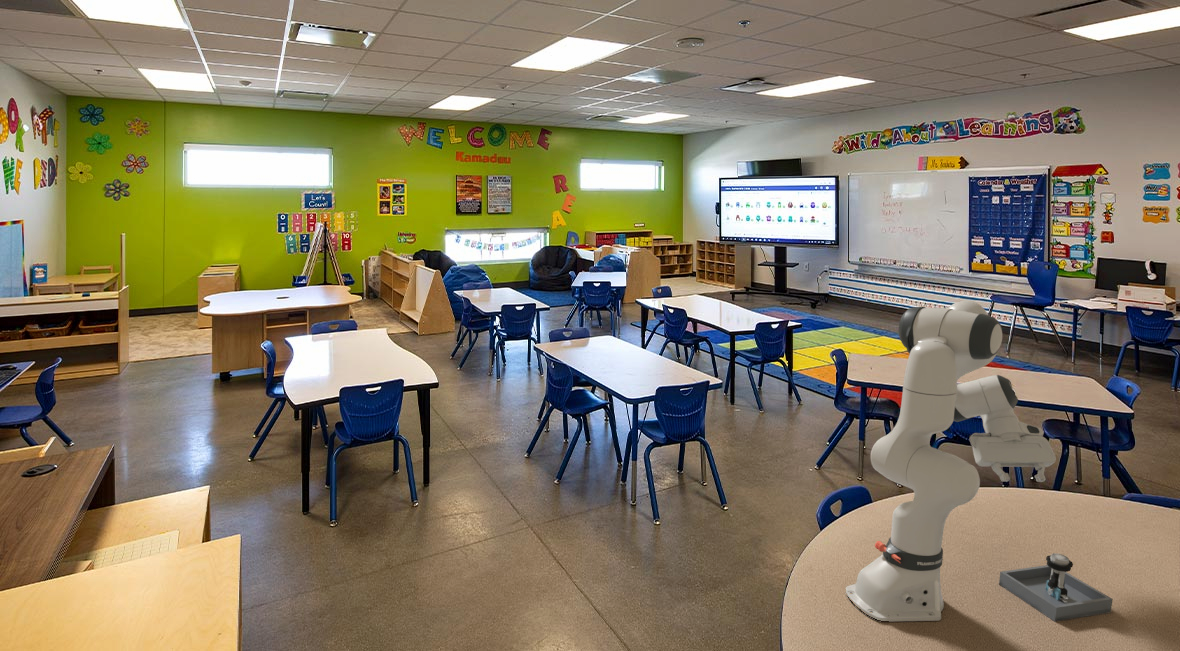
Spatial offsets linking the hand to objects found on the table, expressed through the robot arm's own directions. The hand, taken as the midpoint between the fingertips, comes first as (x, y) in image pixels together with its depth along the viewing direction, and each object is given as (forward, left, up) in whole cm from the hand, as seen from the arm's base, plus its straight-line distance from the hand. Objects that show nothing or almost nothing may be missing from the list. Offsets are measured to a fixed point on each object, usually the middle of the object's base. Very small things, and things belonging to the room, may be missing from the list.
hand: (1023, 480), depth 177 cm
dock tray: (-5, -16, -23) cm, 29 cm away
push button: (-5, -17, -22) cm, 29 cm away
